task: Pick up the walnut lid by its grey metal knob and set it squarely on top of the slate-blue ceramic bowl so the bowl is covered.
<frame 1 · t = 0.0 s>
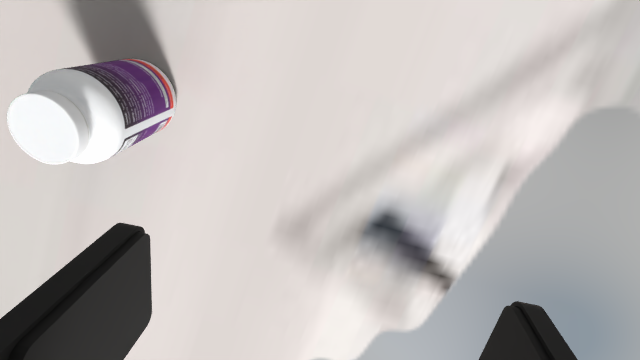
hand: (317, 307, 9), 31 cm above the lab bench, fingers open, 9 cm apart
pill bottle: (146, 95, 40), on the lab bench
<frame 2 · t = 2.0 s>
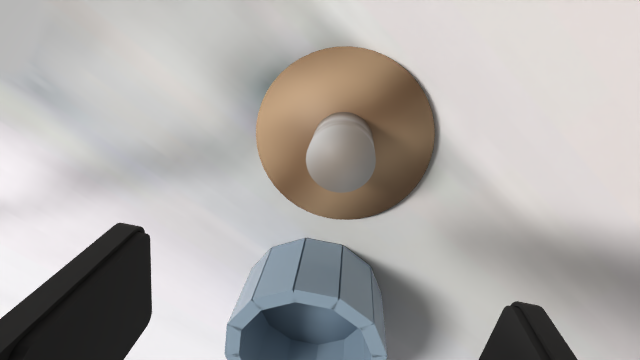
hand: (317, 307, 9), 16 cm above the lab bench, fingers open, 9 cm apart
bowl: (313, 295, 30), on the lab bench
lid: (343, 138, 25), on the lab bench
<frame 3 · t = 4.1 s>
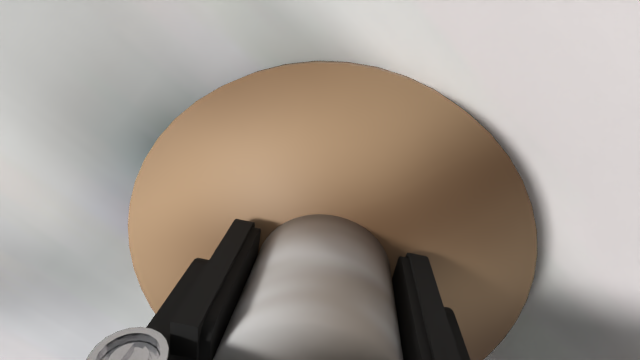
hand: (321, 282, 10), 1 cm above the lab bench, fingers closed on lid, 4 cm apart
lid: (324, 257, 11), on the lab bench, touching gripper
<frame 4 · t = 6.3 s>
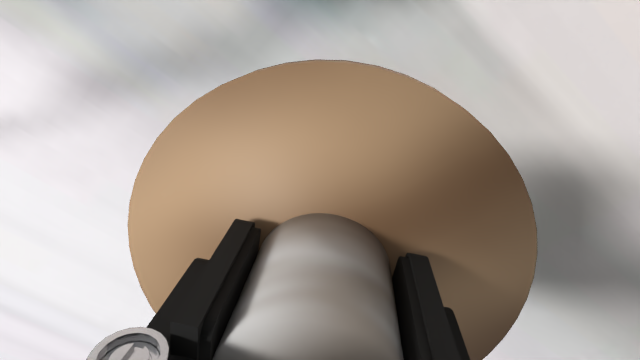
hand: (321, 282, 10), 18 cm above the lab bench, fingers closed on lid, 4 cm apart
lid: (324, 256, 11), point 16 cm above the lab bench, touching gripper
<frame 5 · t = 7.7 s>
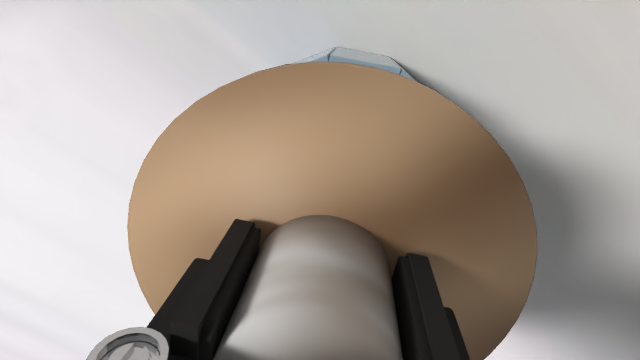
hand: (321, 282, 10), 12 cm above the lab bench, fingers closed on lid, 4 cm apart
bowl: (343, 146, 22), on the lab bench
lid: (324, 257, 11), point 11 cm above the lab bench, touching gripper
when the fingers open (9 cm above the lab bench, at t = 8.6 s): lid drops 1 cm, resting on bowl.
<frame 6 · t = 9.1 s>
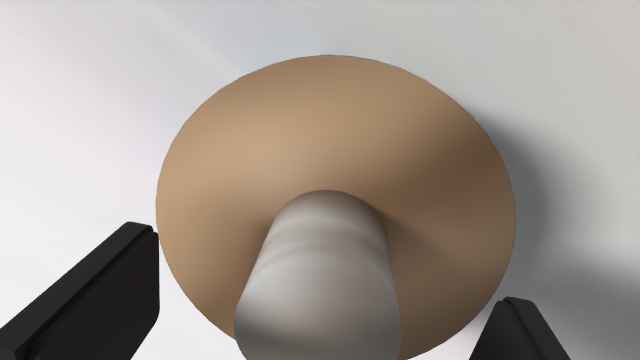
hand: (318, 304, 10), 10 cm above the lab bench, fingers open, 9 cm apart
lid: (329, 231, 13), point 6 cm above the lab bench, touching bowl
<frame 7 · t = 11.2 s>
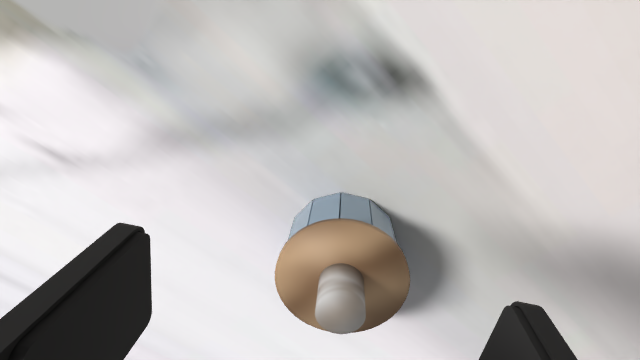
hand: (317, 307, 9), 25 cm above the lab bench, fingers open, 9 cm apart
bowl: (342, 240, 38), on the lab bench
lid: (341, 276, 33), point 6 cm above the lab bench, touching bowl
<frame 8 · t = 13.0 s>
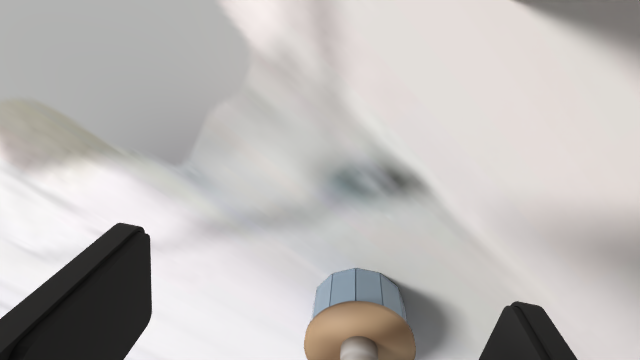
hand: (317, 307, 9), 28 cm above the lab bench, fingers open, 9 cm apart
bowl: (358, 305, 45), on the lab bench
lid: (358, 343, 40), point 6 cm above the lab bench, touching bowl
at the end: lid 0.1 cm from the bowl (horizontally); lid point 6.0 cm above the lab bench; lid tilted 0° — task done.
